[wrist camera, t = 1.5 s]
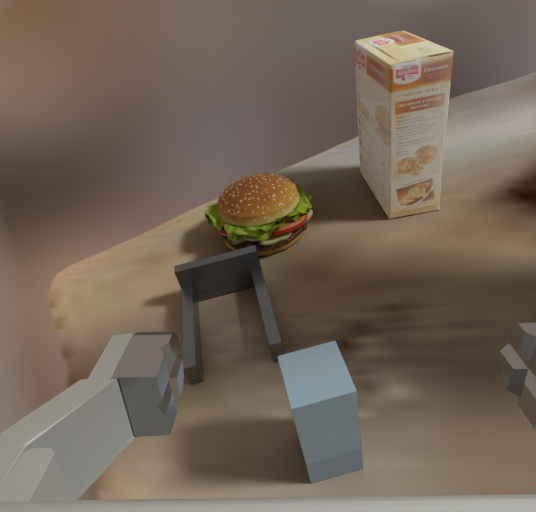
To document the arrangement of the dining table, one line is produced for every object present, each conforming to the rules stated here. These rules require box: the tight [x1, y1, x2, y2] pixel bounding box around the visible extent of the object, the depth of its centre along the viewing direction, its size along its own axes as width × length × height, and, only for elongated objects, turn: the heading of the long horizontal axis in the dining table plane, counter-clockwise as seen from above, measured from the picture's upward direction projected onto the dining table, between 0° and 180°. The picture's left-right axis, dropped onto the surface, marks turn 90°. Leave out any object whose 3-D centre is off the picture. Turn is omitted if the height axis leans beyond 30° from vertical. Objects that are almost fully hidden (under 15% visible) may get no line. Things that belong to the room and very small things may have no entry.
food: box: [205, 173, 313, 256], centre depth 54 cm, size 14×14×8 cm
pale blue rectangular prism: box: [278, 341, 363, 483], centre depth 28 cm, size 4×4×10 cm
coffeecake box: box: [355, 31, 454, 219], centre depth 53 cm, size 15×7×20 cm, turn 4°
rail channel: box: [175, 245, 285, 384], centre depth 42 cm, size 9×13×5 cm
